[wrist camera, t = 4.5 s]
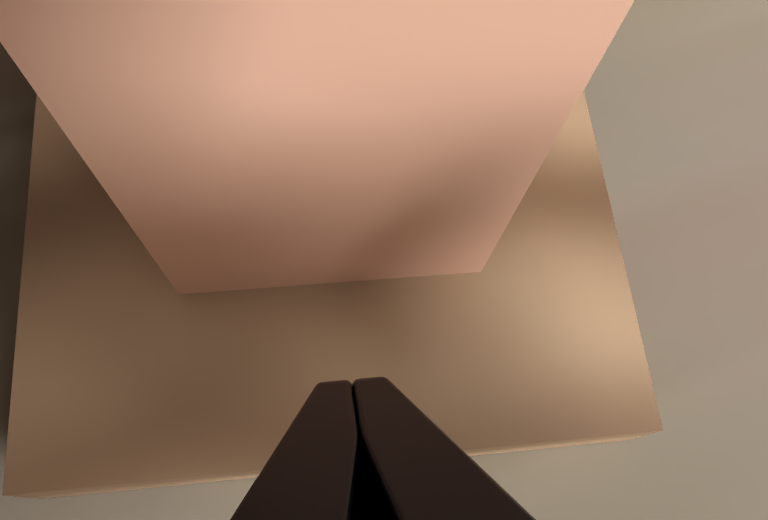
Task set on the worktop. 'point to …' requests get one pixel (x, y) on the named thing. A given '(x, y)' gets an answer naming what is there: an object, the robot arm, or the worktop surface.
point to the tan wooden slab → (310, 339)
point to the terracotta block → (311, 124)
